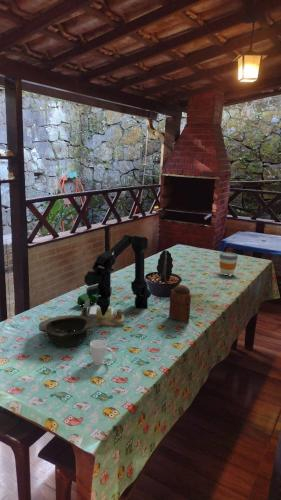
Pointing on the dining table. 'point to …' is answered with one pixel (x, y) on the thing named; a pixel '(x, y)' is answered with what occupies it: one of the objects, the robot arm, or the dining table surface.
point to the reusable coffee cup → (227, 262)
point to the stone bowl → (67, 329)
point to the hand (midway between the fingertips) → (104, 311)
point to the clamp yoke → (86, 308)
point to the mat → (94, 309)
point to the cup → (99, 351)
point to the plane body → (114, 320)
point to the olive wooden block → (107, 314)
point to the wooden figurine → (180, 303)
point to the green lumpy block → (83, 297)
